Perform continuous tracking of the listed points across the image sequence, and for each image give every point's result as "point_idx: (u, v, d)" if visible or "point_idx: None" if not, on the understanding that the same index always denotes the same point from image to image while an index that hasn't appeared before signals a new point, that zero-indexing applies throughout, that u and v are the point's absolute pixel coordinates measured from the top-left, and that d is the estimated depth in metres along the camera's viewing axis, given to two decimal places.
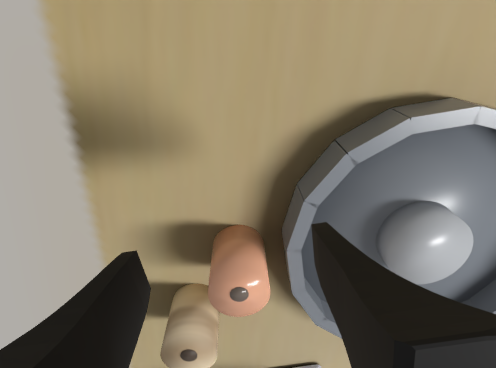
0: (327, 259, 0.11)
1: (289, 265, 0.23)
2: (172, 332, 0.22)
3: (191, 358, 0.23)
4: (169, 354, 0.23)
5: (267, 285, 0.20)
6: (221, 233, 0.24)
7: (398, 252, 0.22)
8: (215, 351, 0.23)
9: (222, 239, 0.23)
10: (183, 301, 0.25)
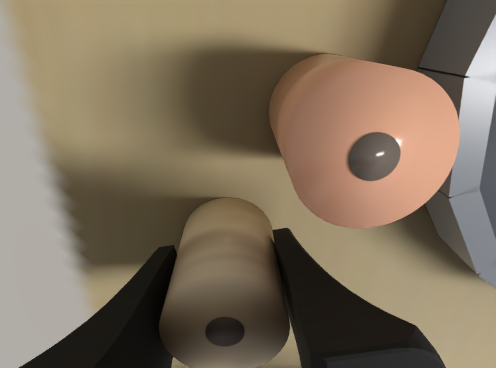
0: (281, 266, 0.11)
1: (460, 121, 0.10)
2: (187, 277, 0.10)
3: (231, 340, 0.10)
4: (180, 329, 0.10)
5: (455, 129, 0.07)
6: (293, 67, 0.11)
7: None
8: (287, 322, 0.10)
9: (301, 69, 0.10)
10: (207, 223, 0.12)
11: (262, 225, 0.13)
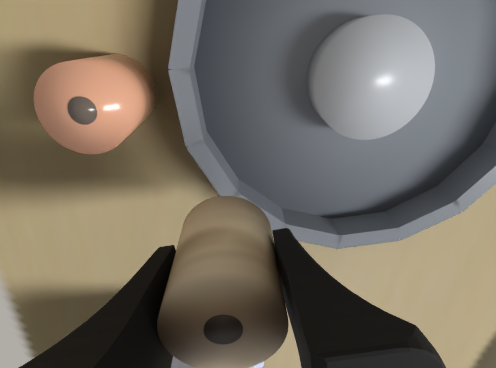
0: (281, 266, 0.11)
1: (175, 97, 0.16)
2: (185, 274, 0.10)
3: (229, 338, 0.10)
4: (178, 327, 0.10)
5: (123, 95, 0.14)
6: None
7: (329, 81, 0.16)
8: (285, 320, 0.10)
9: None
10: (205, 221, 0.12)
11: (260, 222, 0.13)
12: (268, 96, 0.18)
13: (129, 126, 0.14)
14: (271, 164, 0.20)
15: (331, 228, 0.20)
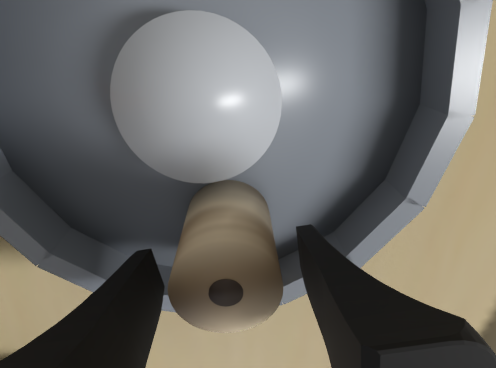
0: (309, 262, 0.11)
1: None
2: (192, 244, 0.11)
3: (231, 300, 0.11)
4: (186, 290, 0.11)
5: None
6: None
7: (132, 106, 0.11)
8: (280, 284, 0.11)
9: None
10: (209, 201, 0.13)
11: (259, 203, 0.14)
12: (83, 124, 0.13)
13: None
14: (110, 209, 0.15)
15: None
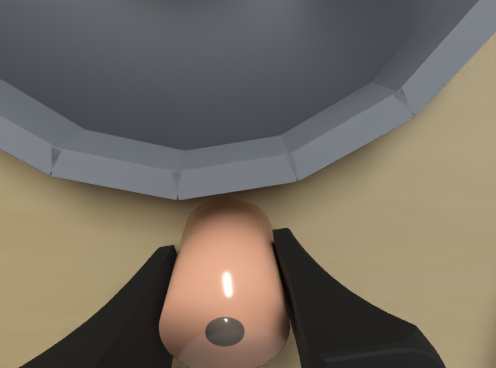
0: (281, 266, 0.11)
1: (217, 191, 0.10)
2: None
3: None
4: None
5: (200, 286, 0.09)
6: None
7: None
8: None
9: None
10: None
11: None
12: (221, 27, 0.10)
13: (247, 281, 0.09)
14: (351, 14, 0.10)
15: None
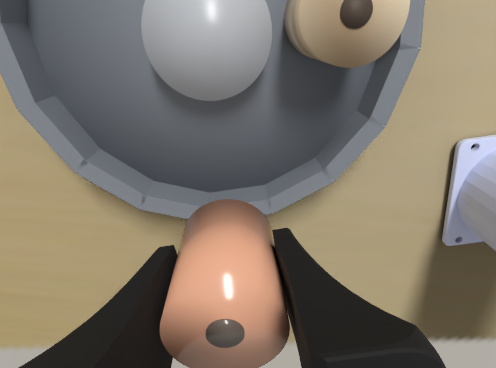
0: (281, 266, 0.11)
1: None
2: (306, 42, 0.13)
3: (367, 5, 0.12)
4: (347, 50, 0.12)
5: (201, 288, 0.09)
6: None
7: (208, 85, 0.16)
8: None
9: None
10: (291, 31, 0.15)
11: None
12: (232, 130, 0.19)
13: (248, 284, 0.09)
14: (302, 124, 0.19)
15: (390, 54, 0.16)
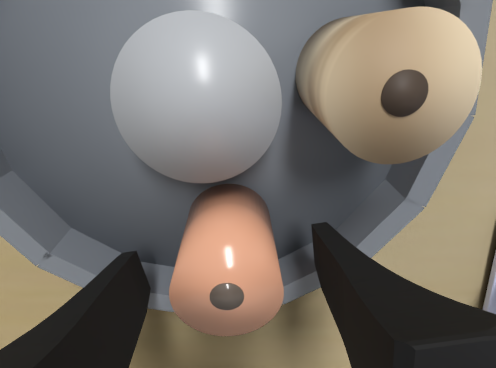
0: (327, 259, 0.11)
1: None
2: (330, 129, 0.09)
3: (420, 86, 0.08)
4: (389, 143, 0.09)
5: (206, 254, 0.10)
6: None
7: (201, 165, 0.12)
8: (408, 11, 0.08)
9: None
10: (306, 98, 0.11)
11: (320, 34, 0.11)
12: None
13: (247, 250, 0.10)
14: (318, 195, 0.15)
15: None
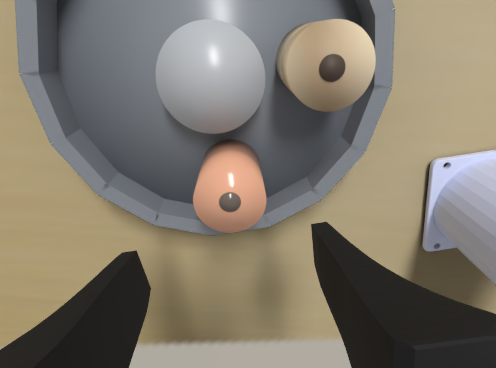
0: (327, 259, 0.11)
1: None
2: (292, 91, 0.15)
3: (341, 63, 0.15)
4: (326, 98, 0.15)
5: (217, 171, 0.17)
6: None
7: (212, 121, 0.18)
8: (330, 21, 0.14)
9: None
10: (281, 75, 0.18)
11: (289, 34, 0.17)
12: None
13: (242, 169, 0.17)
14: (294, 148, 0.21)
15: (367, 92, 0.19)
